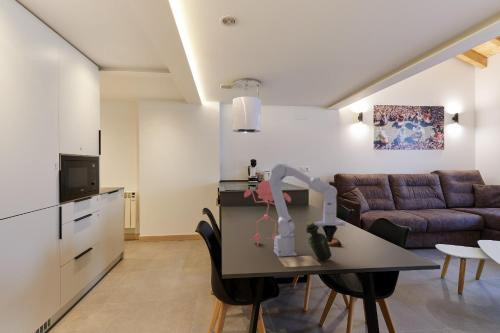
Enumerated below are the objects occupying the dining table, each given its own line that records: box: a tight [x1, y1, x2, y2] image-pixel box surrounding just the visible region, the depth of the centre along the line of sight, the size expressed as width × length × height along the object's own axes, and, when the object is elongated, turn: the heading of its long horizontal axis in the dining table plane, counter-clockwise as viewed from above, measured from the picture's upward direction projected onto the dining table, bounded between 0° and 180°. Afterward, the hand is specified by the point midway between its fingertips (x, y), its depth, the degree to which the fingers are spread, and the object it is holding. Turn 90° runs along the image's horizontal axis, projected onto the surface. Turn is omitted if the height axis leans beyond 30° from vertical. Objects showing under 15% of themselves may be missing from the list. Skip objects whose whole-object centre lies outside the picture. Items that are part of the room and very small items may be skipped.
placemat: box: [277, 255, 322, 269], centre depth 119 cm, size 16×11×1 cm
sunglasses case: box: [324, 234, 342, 248], centre depth 149 cm, size 18×7×7 cm
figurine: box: [243, 179, 292, 246], centre depth 147 cm, size 15×26×35 cm, turn 84°
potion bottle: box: [305, 220, 332, 262], centre depth 120 cm, size 8×8×18 cm
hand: (329, 241), depth 121 cm, fingers closed
